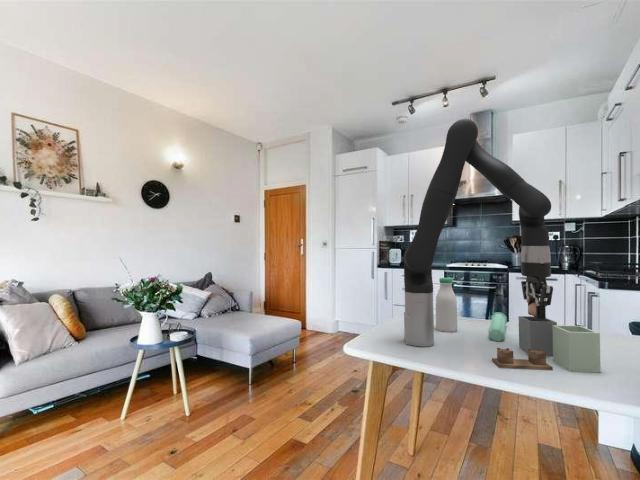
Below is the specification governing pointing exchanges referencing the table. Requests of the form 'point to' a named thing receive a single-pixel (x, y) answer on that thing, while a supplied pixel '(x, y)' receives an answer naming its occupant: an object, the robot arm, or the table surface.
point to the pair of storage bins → (561, 343)
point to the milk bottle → (446, 307)
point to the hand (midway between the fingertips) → (536, 316)
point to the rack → (522, 360)
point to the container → (497, 326)
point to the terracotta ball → (532, 309)
